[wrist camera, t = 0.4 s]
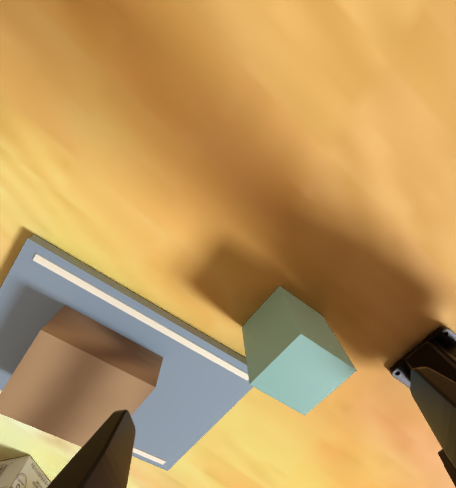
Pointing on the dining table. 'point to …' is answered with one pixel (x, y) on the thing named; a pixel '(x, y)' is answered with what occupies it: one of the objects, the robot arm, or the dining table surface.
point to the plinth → (78, 377)
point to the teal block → (293, 352)
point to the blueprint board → (134, 328)
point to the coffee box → (22, 474)
